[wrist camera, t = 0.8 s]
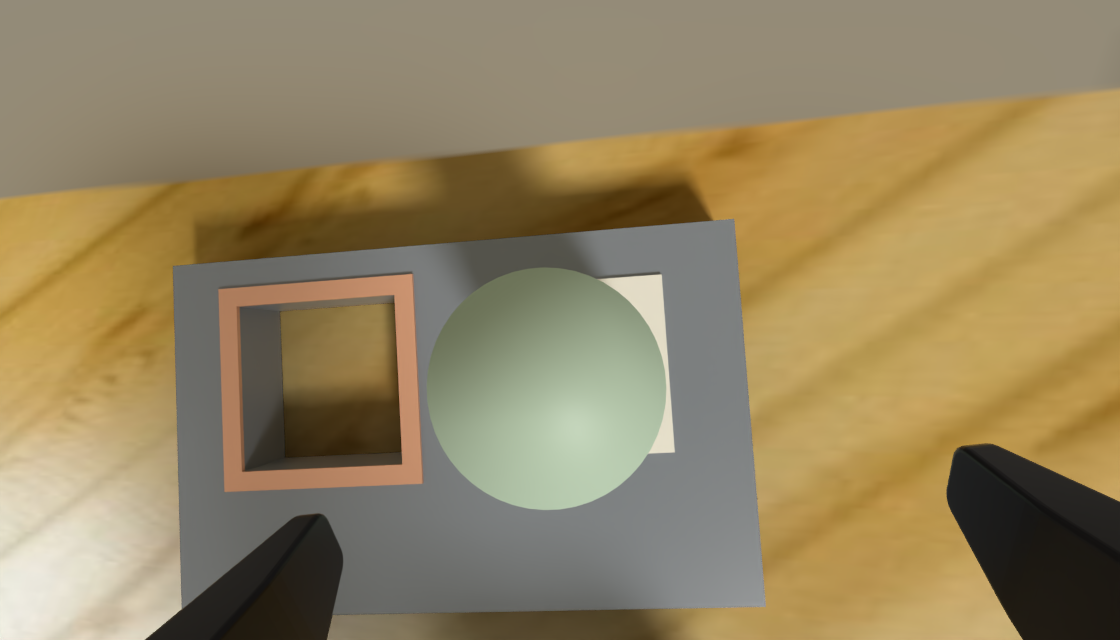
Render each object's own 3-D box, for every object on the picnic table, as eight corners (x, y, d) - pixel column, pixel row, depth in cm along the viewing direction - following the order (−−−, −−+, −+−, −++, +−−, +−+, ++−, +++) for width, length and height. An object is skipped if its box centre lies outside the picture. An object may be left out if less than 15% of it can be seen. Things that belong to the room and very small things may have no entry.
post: (591, 457, 22) (566, 561, 12) (493, 379, 23) (380, 408, 12) (668, 356, 22) (716, 365, 11) (567, 281, 23) (522, 219, 12)
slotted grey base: (230, 587, 27) (179, 619, 24) (220, 274, 28) (170, 265, 25) (748, 575, 25) (766, 608, 22) (720, 233, 25) (735, 218, 22)
